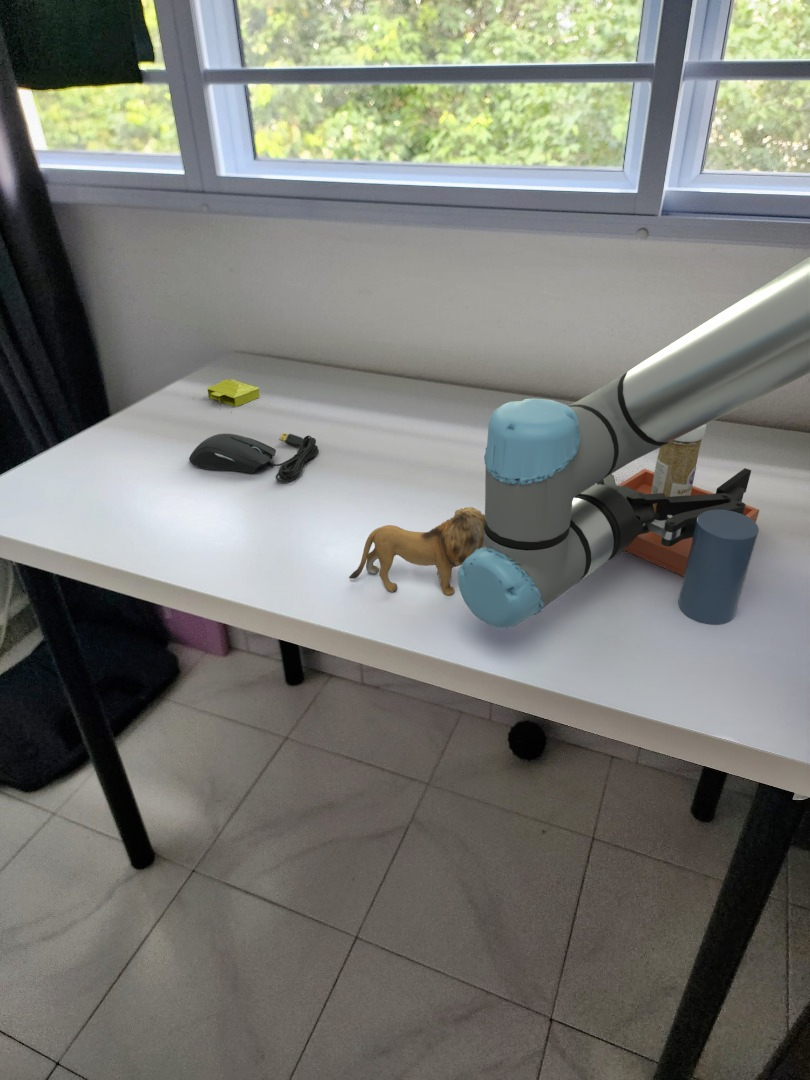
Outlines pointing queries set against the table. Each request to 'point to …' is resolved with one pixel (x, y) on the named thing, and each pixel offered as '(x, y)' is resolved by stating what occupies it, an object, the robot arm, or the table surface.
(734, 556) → the blue can
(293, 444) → the computer mouse
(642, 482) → the tray
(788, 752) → the table surface
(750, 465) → the table surface
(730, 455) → the table surface
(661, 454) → the spice jar
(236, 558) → the table surface
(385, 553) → the lion figurine
